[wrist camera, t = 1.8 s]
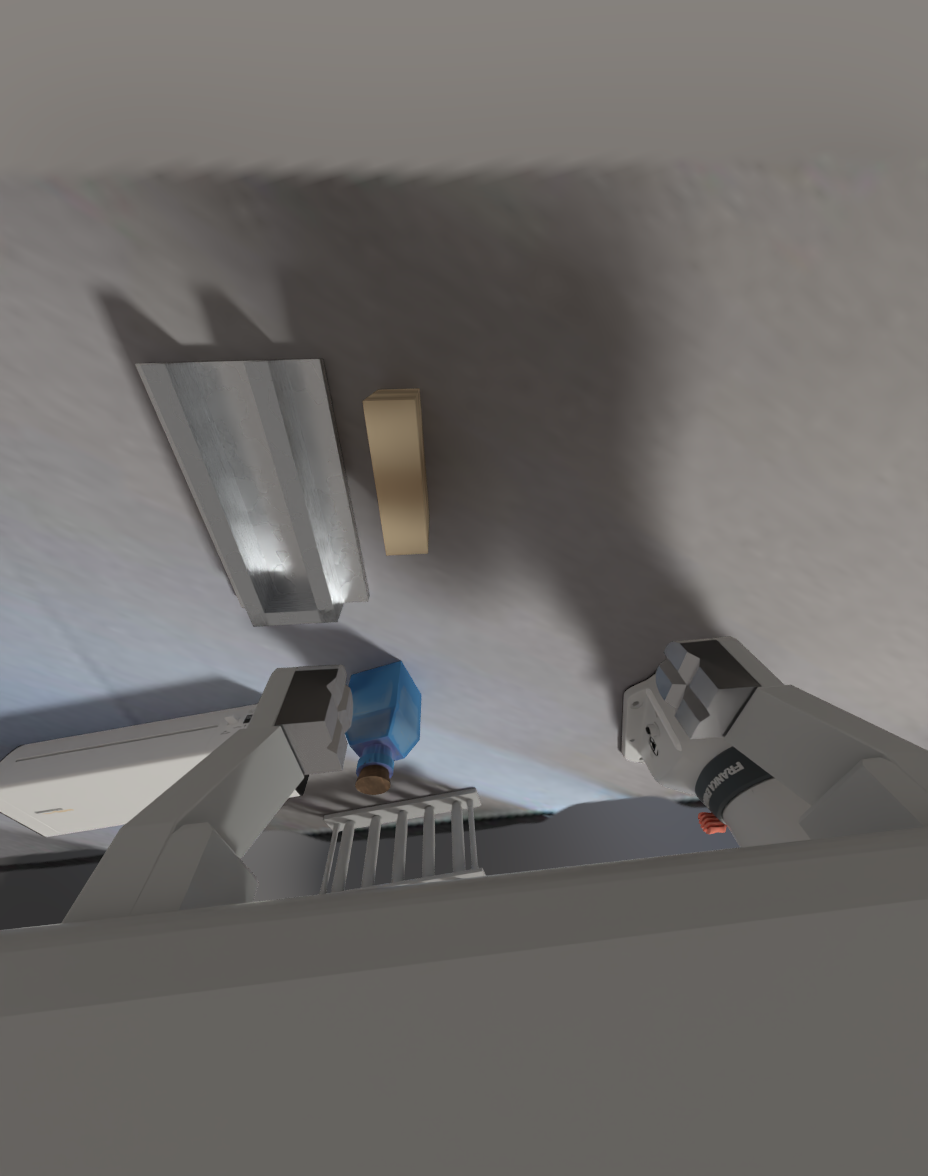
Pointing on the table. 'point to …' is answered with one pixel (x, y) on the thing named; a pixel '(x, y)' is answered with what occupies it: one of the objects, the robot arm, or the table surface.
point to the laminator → (109, 771)
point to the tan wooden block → (399, 468)
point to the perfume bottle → (382, 723)
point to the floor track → (266, 481)
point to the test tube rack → (403, 839)
